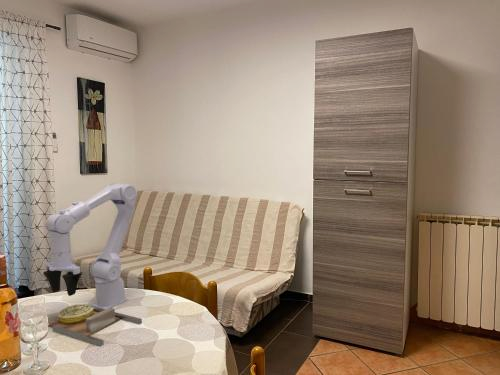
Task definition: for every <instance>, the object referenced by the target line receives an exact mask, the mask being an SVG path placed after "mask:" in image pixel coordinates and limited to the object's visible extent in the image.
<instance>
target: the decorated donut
mask: <svg viewBox="0 0 500 375" xmlns="http://www.w3.org/2000/svg"><path fill="white" fill-rule="evenodd" d="M94 308H95V307H92V306H91V305H89V304H72V305H70V306H67V307H65V308H63V309H62V310H61V311H59V312H58V313H57V319H58V320H59V321H60V322H61V323H63V324H74V323H80V322H83V321H86V318H89V317H91V316H92V314H93V309H94Z"/></svg>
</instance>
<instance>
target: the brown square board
mask: <svg viewBox="0 0 500 375" xmlns="http://www.w3.org/2000/svg"><path fill="white" fill-rule="evenodd" d="M115 312H116V310H115V308H114V307H112V308H108V309H106V310H104V311H101V312H99V313H98V312H95V311H93V314H92V316H91V317H89V318H86V321H83V322H80V323H74V324H63V323H61V322H60V321H59V320H58V318H57V319H55V320H53V321H51V322H48V323H47V324H49V326H48V327H49V328H52V327H53V326H60V327H63V328H66V329H69V330H73V331H76V332H79V333H82V334H85V335H89V336H92V335H94V334H96V333H98V332H100V331H102V330H104V329H105V328H108V327H109V326H111V325H113V324H115V323H117V322H119V321H121V320H120V318H118V317H115Z"/></svg>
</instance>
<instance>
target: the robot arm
mask: <svg viewBox="0 0 500 375" xmlns="http://www.w3.org/2000/svg"><path fill="white" fill-rule="evenodd" d="M138 195H139V193H138V192H137V189H136V187H135V186H134V185H133V184H131V183H127V184H125V183H124V184H123V183H115V182H114V183H110V184H109V185H107V186H105V187H104V188H103V189H102V190H101V191H98V192H97V193H96V194H94V195H93V196H91V197H90V198H89V199H87V200H85V201H80V200H79V201H73V202H71V203H72V205H70V206H68V207H67V208H65V209H60V210H59V213H53V214H50V216H48V218H47V220H46V223H44V226H45V229H46V230H47V231H48V233H49V244H50V258H51V261H49V262H45V263H44V269H45V271H43V272H42V274H43V276H45V278H46V279H47V281H48V283H49V287H50V288H51V291H52V293H56V292H58V291H61V290H60V289H61V277H62V279H63V281H64V283H65V286H66V292H67V296H69V297H70V296H73V295H75V294H76V292H77V286H78V283H79V281H80V279H81V276H82V274H83V272H82V271H81V266H79V265H77V264H74V263H73V260H72V246H71V233H70V232H71V231H72V230H73V228H74V225H76V224H78V223H79V222H81V221H82V220H84V219H86V218H87V217H88V216H90V214H91V211H92V210H94V209H95V208H97V207H99V206H100V205H102V204H104V203H106V202H108V201H111V202H112V204H114V205H115V207H116V208H117V211H118V212H117V214H116V216H115V219H114V222H113V225H112V228H111V231H110V234H109V236H108V238H107V240H106V244H105V246H104V249H103V251H102V252H100V254H97V257H96V259H95V260H94V262H93V263H92V264H91V265H90V268H89V269H90V274H91V276H92V277H93V279H94V284H95V286H94V287H95V298H96V302H94V303H91V305H90V306H91V307H93V308H96V307H97V308H101V309H105V310H106V309H108V308H114V307H116V306H119V305H120V304H122V303H124V302H127V298H126V294H125V293H126V292H125V281H124V279H123V278H122V277H121V276H120V275H121V272H122V270H121V267H122V264H123V262H122V259H121V257H120V253H121V251H122V247H123V245H124V242H125V239H126V237H127V234H128V231H129V229H130V226H131V222H132V220H133V217H134V214H135V212H136V201H137V198H138ZM62 272H63V273H66V274H63V275H62Z"/></svg>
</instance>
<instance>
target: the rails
mask: <svg viewBox="0 0 500 375" xmlns="http://www.w3.org/2000/svg"><path fill="white" fill-rule="evenodd" d="M93 308H94V309H93V311H95V312H98V313H99V312H101V311H104V310H105V309H101V308H97V307H93ZM115 317H118V318H120V320H119V321H124V322H127V323H132V324H134V325H135V324H136V325H142V323H143V319H142V318H140V317H136V316H133V315H129V314H128V315H127V314H125V313H121V312H120V313H119V312H116V311H115ZM51 328H52V332H54V333H57V334H60V335H63V336H66V337H69V338H73V339H75V340H79V341H81V342H85V343H87V344H90V345H95V346H97V347H102V346H104V345H105V343H104V342H105V341H104V339H102V338H98V337H96V336H95V337H94V336H92V335H90V336H89V335H85V334H82V333H79V332H76V331H73V330H69V329H66V328H63V327H60V326H53V327H51Z"/></svg>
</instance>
